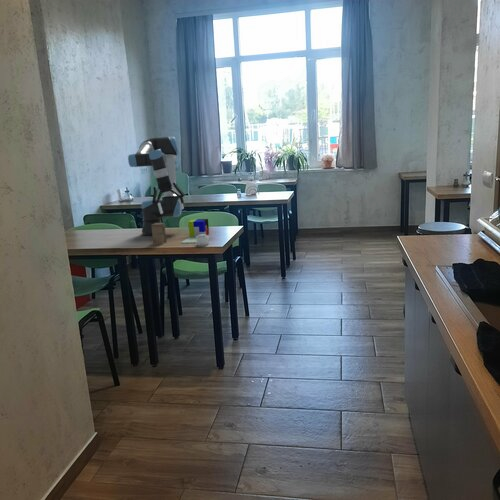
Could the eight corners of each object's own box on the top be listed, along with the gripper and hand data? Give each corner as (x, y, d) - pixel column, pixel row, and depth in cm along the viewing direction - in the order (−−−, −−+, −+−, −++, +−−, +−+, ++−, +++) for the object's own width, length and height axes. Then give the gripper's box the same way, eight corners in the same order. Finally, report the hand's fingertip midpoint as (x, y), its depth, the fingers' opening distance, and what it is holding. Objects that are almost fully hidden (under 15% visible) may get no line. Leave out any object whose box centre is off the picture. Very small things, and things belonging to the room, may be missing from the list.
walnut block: (157, 242, 286) (155, 223, 284) (166, 242, 285) (164, 222, 282) (153, 244, 281) (151, 224, 278) (162, 244, 279) (160, 224, 277)
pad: (188, 238, 292) (188, 237, 292) (210, 238, 289) (210, 237, 289) (181, 243, 279) (180, 242, 279) (203, 243, 276) (203, 242, 276)
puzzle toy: (204, 237, 294) (203, 221, 292) (189, 237, 296) (188, 221, 294) (209, 233, 303) (207, 218, 301) (194, 234, 306) (193, 219, 303)
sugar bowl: (199, 243, 276) (198, 233, 274) (210, 243, 274) (209, 233, 273) (195, 246, 269) (194, 236, 268) (206, 245, 268) (205, 236, 266)
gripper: (140, 182, 270) (151, 216, 276) (179, 172, 265) (190, 208, 270) (145, 180, 278) (155, 214, 283) (183, 170, 272) (193, 205, 277)
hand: (172, 211), depth 277 cm, fingers open, 13 cm apart
